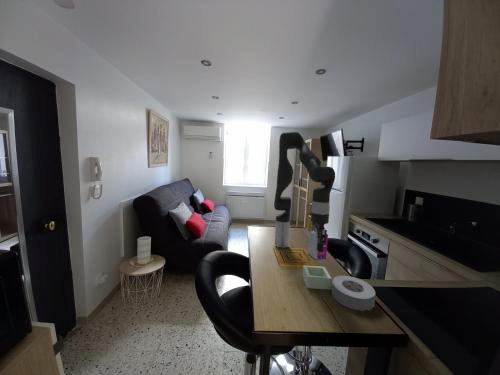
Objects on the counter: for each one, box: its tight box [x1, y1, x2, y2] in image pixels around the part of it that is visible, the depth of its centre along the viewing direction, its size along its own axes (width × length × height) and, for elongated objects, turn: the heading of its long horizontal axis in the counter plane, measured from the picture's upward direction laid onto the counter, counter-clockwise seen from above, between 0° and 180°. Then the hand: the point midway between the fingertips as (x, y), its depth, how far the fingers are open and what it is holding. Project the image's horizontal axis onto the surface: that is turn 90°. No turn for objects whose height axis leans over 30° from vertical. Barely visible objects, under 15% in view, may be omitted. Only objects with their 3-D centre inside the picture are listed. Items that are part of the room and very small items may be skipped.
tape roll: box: [331, 275, 377, 312], centre depth 77 cm, size 15×15×5 cm
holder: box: [302, 265, 333, 291], centre depth 87 cm, size 10×10×5 cm
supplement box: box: [307, 230, 329, 261], centre depth 86 cm, size 6×6×12 cm
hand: (317, 248), depth 86 cm, fingers closed on supplement box, 7 cm apart
